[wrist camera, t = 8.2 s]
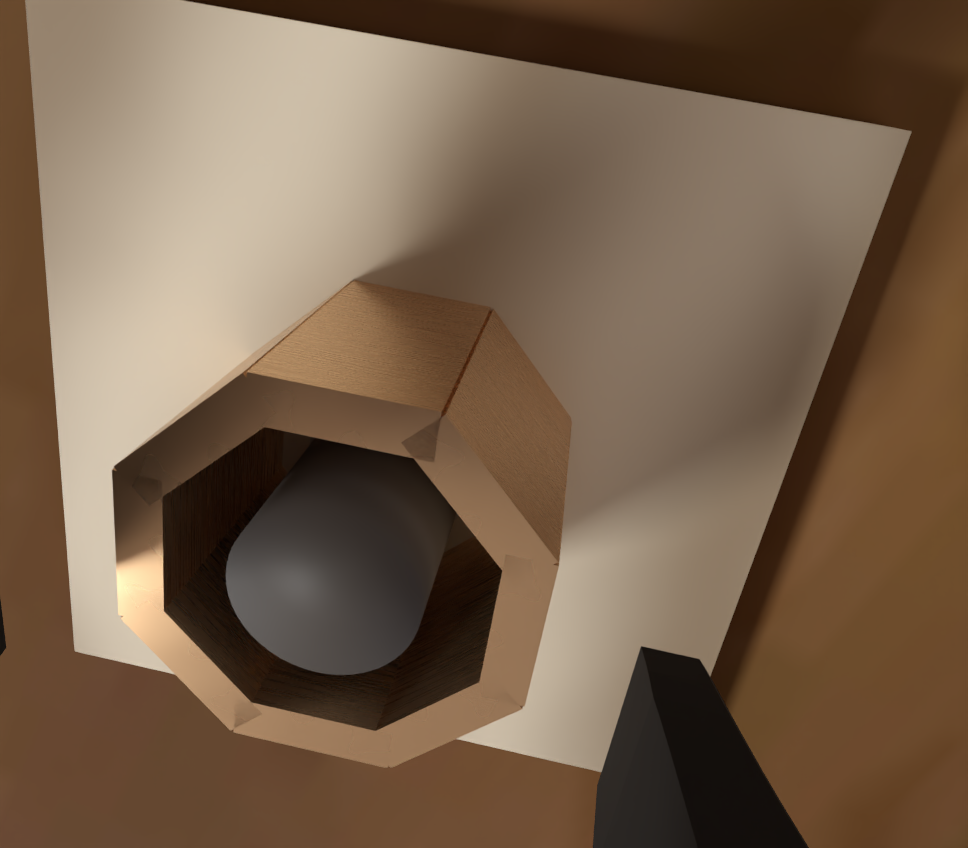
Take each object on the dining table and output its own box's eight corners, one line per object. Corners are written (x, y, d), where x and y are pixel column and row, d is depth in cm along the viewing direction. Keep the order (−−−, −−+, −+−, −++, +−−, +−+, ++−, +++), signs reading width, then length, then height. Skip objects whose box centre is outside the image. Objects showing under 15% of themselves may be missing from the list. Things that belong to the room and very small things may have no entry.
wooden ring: (593, 327, 12) (589, 442, 8) (529, 606, 14) (503, 794, 10) (254, 260, 12) (106, 342, 8) (244, 544, 14) (121, 706, 11)
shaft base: (885, 125, 11) (1083, 165, 7) (665, 747, 16) (689, 1011, 12) (67, -21, 12) (-269, -77, 7) (103, 619, 17) (-82, 823, 12)
